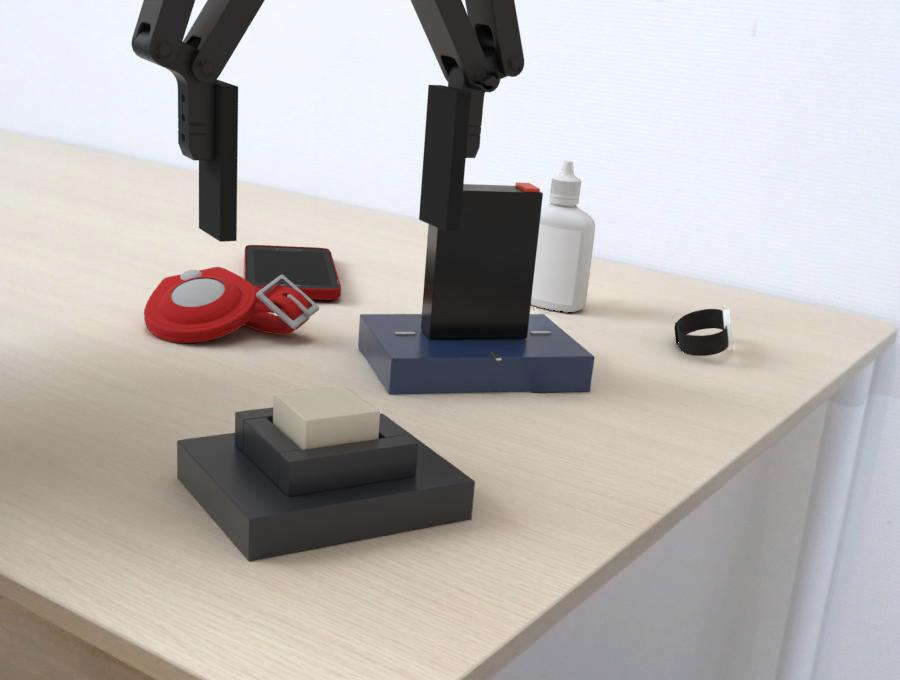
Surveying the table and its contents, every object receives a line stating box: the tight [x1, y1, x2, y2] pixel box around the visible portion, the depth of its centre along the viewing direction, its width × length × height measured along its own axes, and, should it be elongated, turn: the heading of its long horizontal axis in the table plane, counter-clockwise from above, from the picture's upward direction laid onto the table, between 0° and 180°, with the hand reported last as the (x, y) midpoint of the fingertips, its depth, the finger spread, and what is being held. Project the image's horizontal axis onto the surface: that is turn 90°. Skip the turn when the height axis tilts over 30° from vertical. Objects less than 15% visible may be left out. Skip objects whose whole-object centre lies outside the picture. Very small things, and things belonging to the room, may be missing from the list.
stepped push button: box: [176, 406, 476, 563], centre depth 60 cm, size 12×10×4 cm
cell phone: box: [243, 244, 342, 301], centre depth 100 cm, size 8×15×1 cm, turn 9°
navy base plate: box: [357, 313, 595, 396], centre depth 81 cm, size 14×11×3 cm
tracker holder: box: [143, 266, 320, 344], centre depth 86 cm, size 12×4×10 cm
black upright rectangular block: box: [421, 181, 544, 339], centre depth 79 cm, size 7×2×10 cm, turn 106°
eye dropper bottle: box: [531, 160, 596, 313], centre depth 97 cm, size 4×6×12 cm
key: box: [272, 384, 381, 450], centre depth 59 cm, size 4×4×2 cm
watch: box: [673, 304, 734, 357], centre depth 90 cm, size 8×5×4 cm, turn 170°
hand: (333, 230), depth 55 cm, fingers open, 11 cm apart
